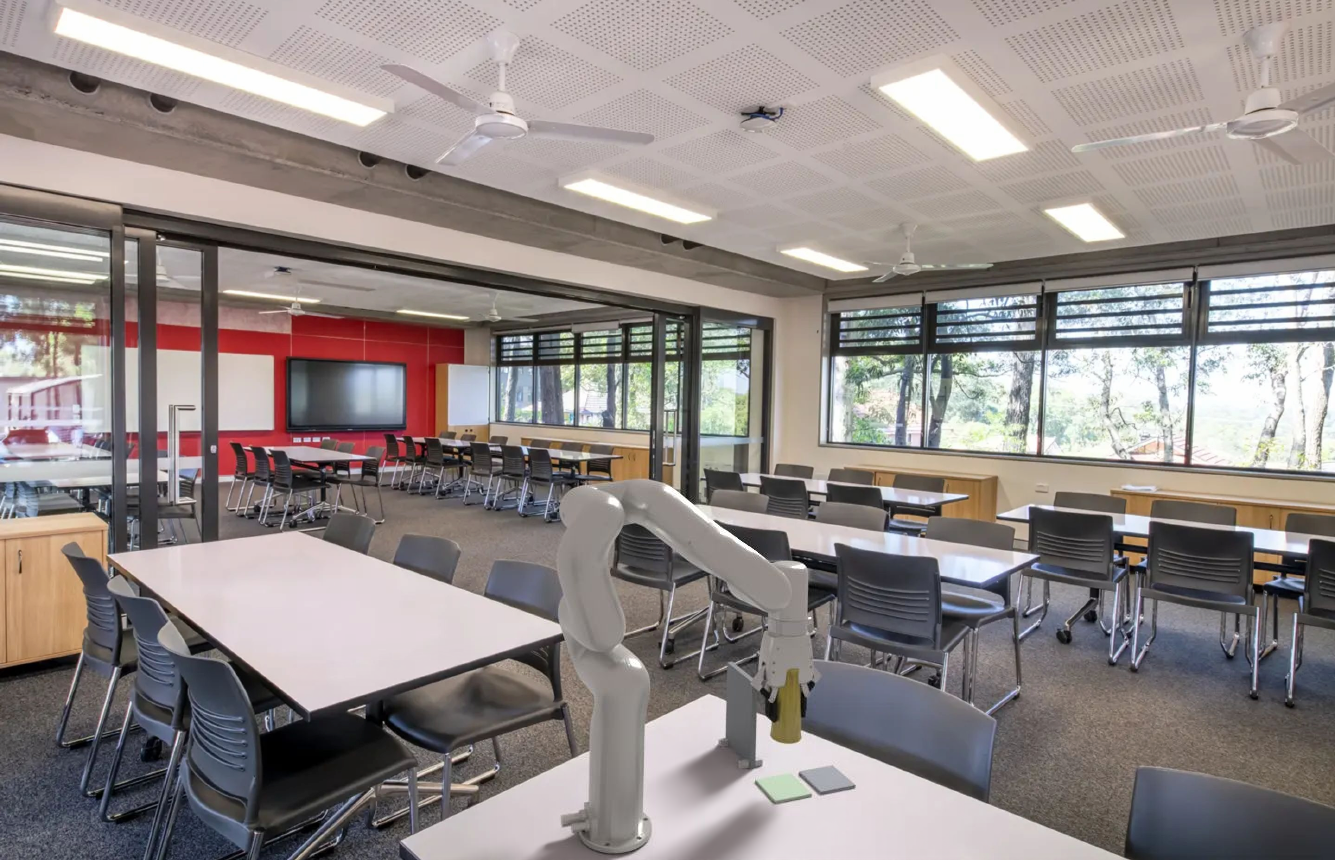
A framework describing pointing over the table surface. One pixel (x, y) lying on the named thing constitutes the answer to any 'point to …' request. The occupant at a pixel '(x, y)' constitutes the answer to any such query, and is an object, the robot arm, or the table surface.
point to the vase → (788, 710)
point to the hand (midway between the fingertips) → (785, 716)
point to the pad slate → (827, 779)
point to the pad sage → (783, 788)
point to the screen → (741, 717)
